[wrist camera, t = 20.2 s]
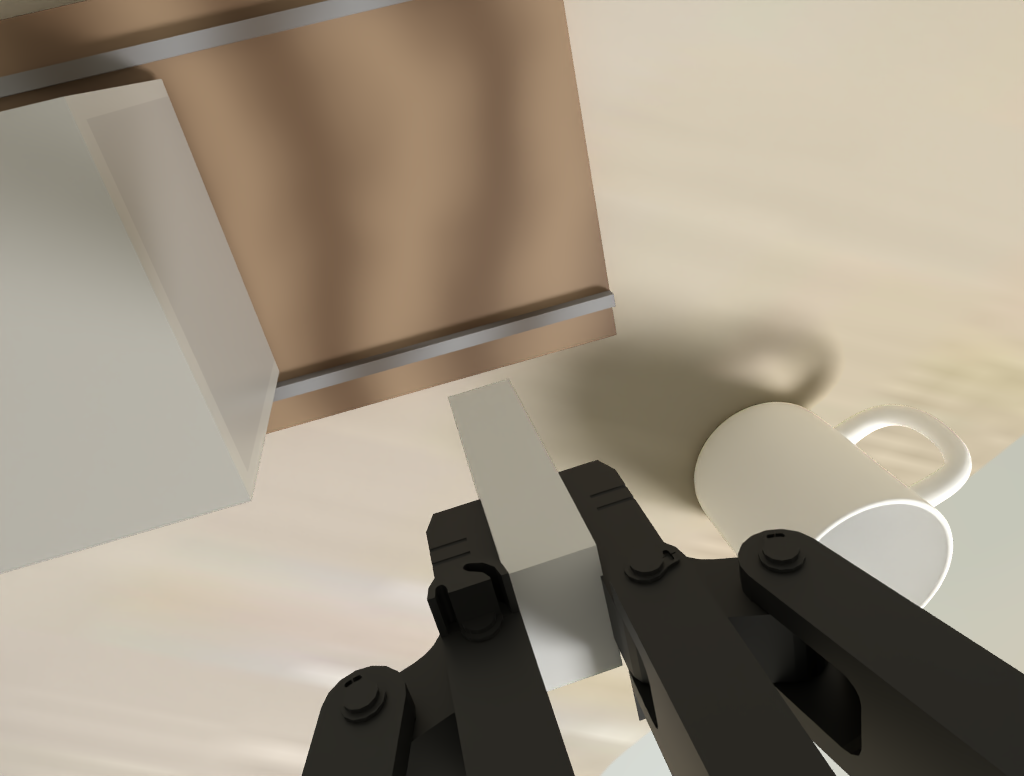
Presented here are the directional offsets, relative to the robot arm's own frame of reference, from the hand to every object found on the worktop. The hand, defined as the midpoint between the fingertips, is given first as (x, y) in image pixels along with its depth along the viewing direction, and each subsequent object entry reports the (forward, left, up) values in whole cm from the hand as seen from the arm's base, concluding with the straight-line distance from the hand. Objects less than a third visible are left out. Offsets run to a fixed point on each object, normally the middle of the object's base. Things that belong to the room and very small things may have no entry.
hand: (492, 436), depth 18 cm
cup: (+17, -16, -17) cm, 29 cm away
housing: (-13, +3, -16) cm, 20 cm away
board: (-4, +3, -17) cm, 18 cm away
